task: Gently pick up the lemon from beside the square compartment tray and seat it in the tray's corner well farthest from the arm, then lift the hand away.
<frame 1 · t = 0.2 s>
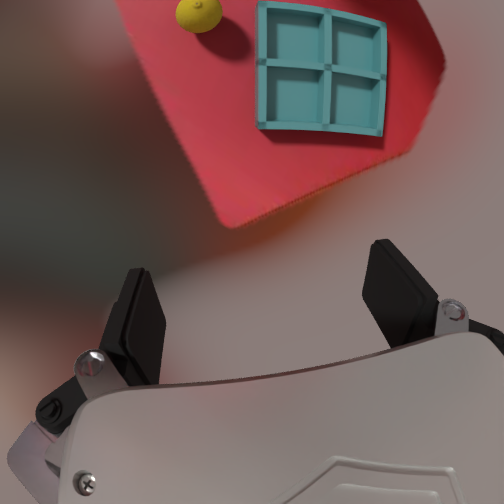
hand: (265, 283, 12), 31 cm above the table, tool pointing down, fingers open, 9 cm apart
lemon: (201, 20, 27), on the table
square compartment tray: (319, 68, 32), on the table
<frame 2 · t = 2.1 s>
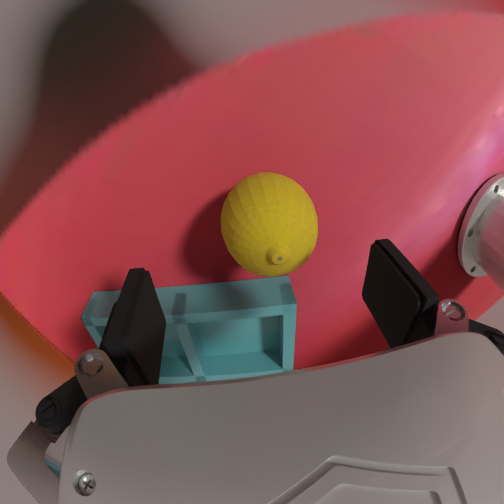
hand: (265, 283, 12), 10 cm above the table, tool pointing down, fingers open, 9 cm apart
lemon: (261, 196, 20), on the table
square compartment tray: (202, 351, 28), on the table
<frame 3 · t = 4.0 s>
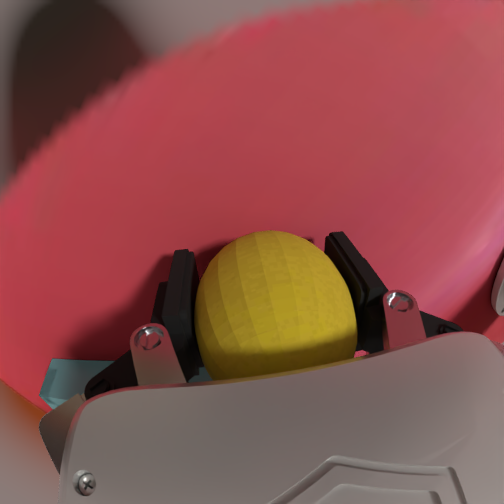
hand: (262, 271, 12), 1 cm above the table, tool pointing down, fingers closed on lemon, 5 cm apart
lemon: (258, 252, 13), on the table, touching gripper
square compartment tray: (188, 417, 21), on the table
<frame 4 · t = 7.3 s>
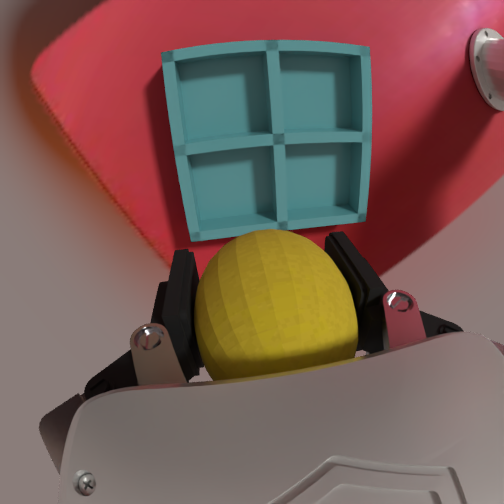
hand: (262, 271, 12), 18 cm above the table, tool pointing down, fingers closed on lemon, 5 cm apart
lemon: (258, 251, 13), point 16 cm above the table, touching gripper
square compartment tray: (271, 133, 26), on the table
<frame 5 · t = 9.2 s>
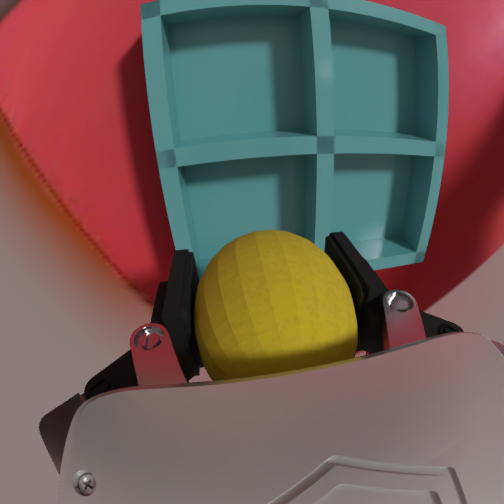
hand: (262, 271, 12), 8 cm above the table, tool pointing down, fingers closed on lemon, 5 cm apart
lemon: (258, 252, 13), point 7 cm above the table, touching gripper
square compartment tray: (307, 134, 17), on the table
when the fingers open (4 cm above the table, at t = 10.8 s): lemon drops 2 cm, resting on square compartment tray.
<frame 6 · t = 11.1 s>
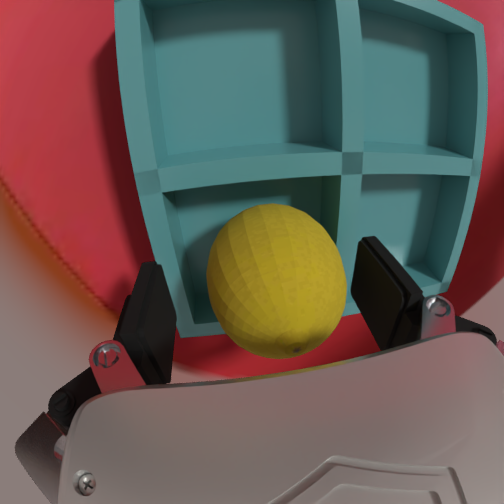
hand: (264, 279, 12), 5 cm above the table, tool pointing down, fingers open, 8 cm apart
lemon: (261, 229, 15), point 1 cm above the table, touching square compartment tray
square compartment tray: (324, 146, 14), on the table
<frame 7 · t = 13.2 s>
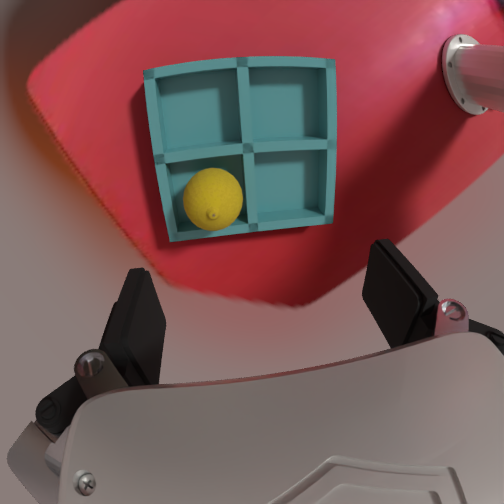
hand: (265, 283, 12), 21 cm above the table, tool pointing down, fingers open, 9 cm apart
lemon: (212, 184, 30), point 1 cm above the table, touching square compartment tray
square compartment tray: (244, 142, 28), on the table
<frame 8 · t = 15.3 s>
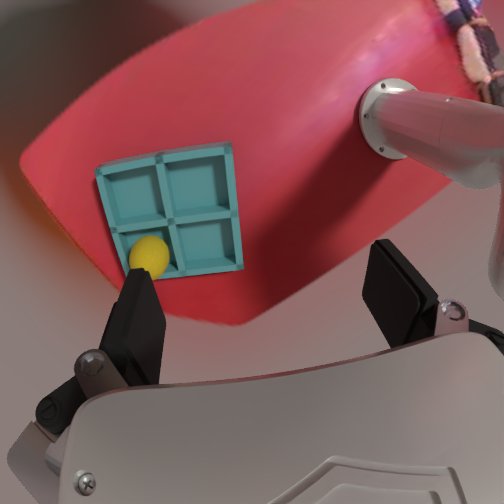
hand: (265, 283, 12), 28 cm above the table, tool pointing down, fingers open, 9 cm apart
lemon: (154, 241, 40), point 1 cm above the table, touching square compartment tray
square compartment tray: (174, 211, 39), on the table
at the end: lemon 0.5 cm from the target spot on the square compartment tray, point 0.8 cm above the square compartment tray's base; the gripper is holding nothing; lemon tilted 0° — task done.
